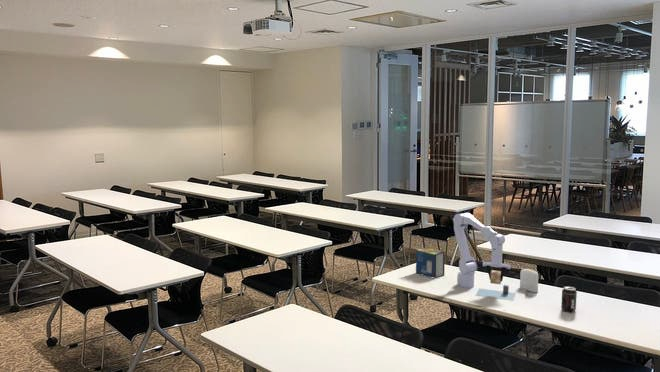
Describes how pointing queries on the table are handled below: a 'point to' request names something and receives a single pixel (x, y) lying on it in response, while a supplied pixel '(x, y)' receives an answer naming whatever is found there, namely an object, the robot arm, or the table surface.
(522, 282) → the photo printer
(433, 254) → the protein box
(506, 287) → the black metal post
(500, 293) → the light blue flat board
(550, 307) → the table surface
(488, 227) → the robot arm
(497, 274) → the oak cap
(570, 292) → the beverage can
